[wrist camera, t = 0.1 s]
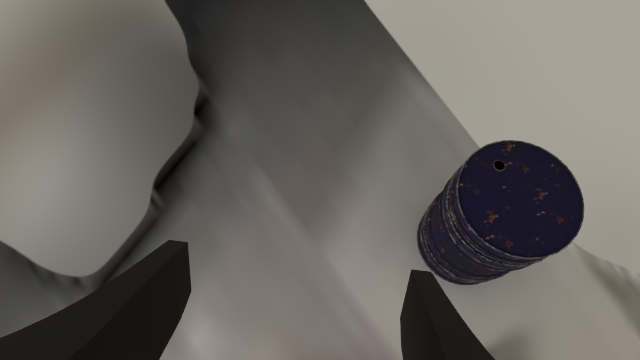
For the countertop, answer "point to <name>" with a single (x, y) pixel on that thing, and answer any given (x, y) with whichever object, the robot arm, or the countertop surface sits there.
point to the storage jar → (500, 214)
